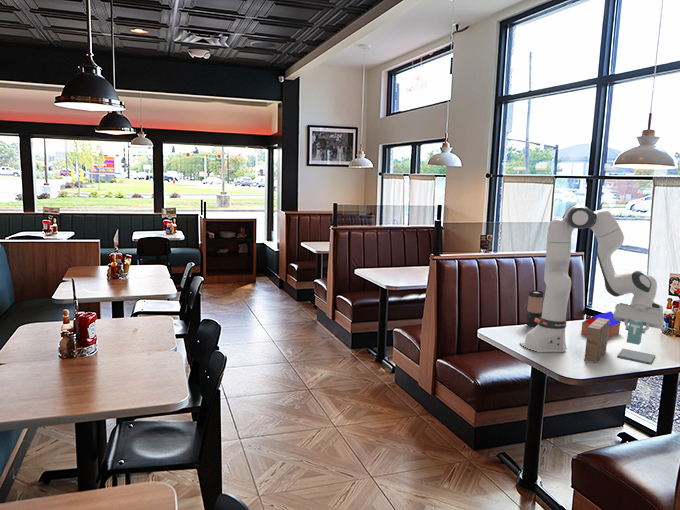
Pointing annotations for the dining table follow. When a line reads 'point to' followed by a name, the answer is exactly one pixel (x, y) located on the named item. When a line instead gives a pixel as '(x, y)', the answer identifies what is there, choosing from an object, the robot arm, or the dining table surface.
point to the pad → (636, 356)
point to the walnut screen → (596, 340)
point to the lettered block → (635, 332)
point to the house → (613, 324)
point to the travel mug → (534, 307)
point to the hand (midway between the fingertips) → (635, 331)
